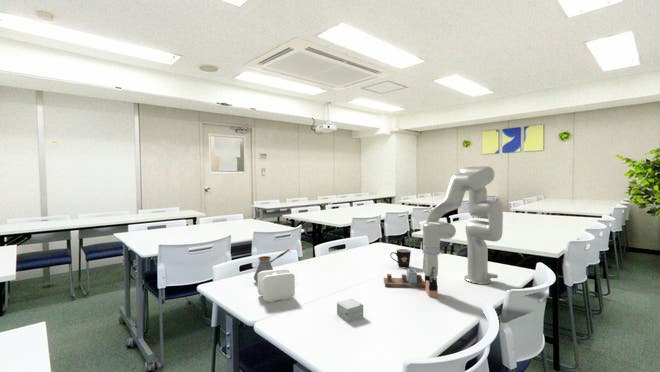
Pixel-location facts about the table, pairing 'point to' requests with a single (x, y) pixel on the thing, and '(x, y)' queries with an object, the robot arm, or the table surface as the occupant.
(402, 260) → the coffee mug
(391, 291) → the table surface
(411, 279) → the slate plug
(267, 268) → the coffee pot
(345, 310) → the small box
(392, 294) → the table surface
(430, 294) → the terracotta plug
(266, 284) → the cable organizer
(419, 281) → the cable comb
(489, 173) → the robot arm
